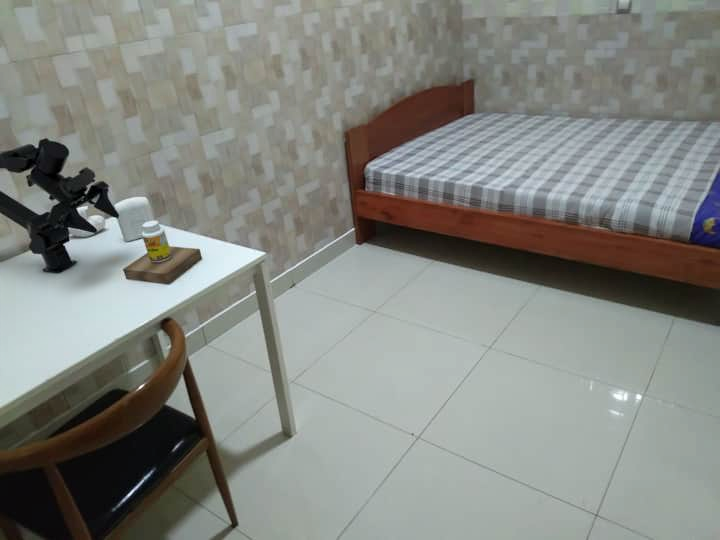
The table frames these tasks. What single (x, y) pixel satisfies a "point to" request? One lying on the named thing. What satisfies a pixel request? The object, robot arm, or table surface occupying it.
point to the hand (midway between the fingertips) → (107, 224)
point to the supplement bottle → (156, 242)
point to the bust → (94, 220)
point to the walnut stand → (163, 266)
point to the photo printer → (133, 216)
